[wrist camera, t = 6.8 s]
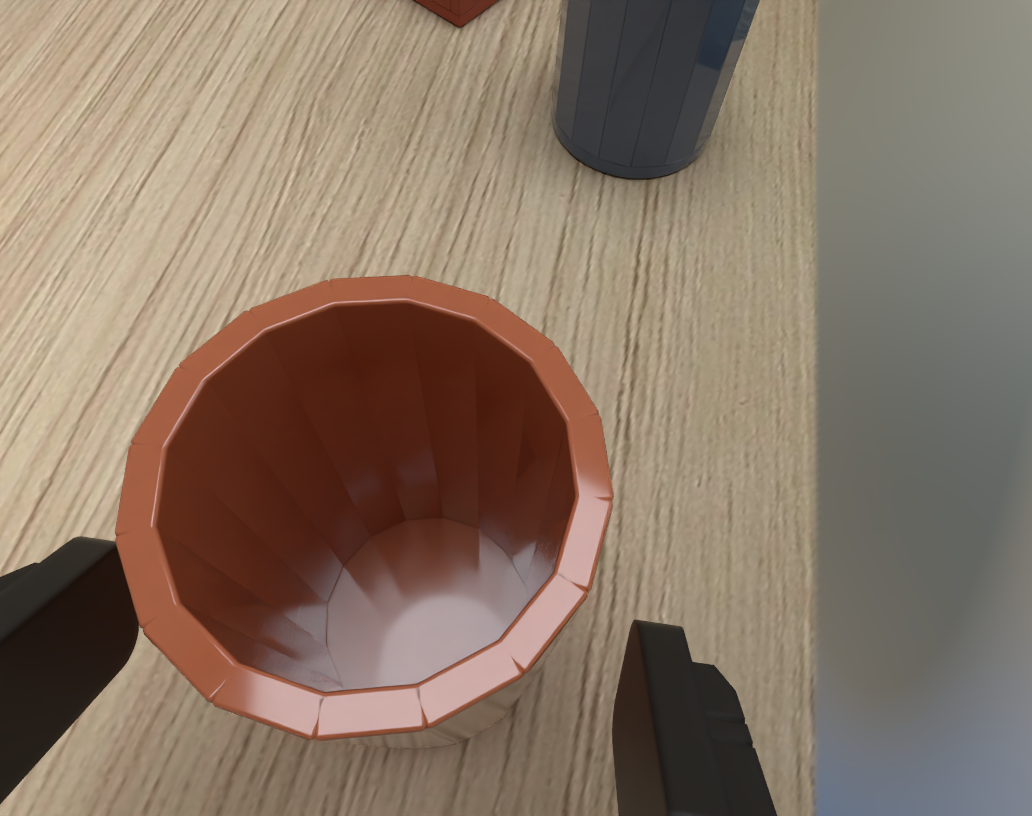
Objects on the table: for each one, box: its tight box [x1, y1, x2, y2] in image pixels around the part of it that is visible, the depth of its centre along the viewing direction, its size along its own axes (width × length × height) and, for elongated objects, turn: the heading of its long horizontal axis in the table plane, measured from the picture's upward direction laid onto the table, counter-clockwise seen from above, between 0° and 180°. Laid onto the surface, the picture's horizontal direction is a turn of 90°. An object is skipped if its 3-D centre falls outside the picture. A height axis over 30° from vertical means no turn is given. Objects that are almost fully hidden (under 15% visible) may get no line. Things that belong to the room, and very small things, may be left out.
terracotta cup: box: [115, 275, 614, 749], centre depth 14 cm, size 6×6×11 cm
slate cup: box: [552, 0, 760, 179], centre depth 24 cm, size 6×6×9 cm
